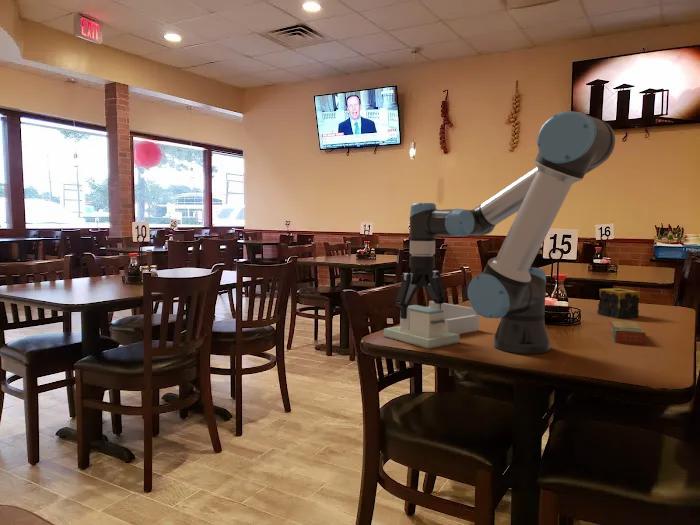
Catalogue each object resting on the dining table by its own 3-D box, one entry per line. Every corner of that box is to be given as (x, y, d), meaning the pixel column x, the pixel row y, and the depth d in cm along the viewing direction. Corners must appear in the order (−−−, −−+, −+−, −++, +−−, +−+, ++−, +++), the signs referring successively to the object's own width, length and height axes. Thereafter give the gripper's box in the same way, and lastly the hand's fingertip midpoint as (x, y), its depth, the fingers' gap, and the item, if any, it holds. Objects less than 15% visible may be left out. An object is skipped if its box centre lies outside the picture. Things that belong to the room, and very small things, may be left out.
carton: (636, 335, 167) (637, 321, 167) (646, 346, 152) (647, 332, 152) (607, 332, 170) (608, 319, 170) (614, 343, 155) (615, 329, 154)
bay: (478, 330, 171) (479, 309, 170) (447, 336, 162) (447, 313, 161) (431, 320, 188) (431, 300, 187) (400, 324, 179) (400, 304, 178)
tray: (459, 342, 153) (459, 334, 153) (428, 348, 146) (428, 340, 145) (413, 331, 168) (413, 323, 168) (383, 336, 161) (383, 328, 160)
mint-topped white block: (445, 341, 153) (446, 310, 152) (431, 343, 149) (432, 312, 149) (414, 333, 163) (414, 304, 163) (400, 335, 160) (400, 306, 159)
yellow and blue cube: (597, 314, 202) (598, 288, 202) (617, 313, 206) (619, 288, 205) (617, 319, 193) (619, 292, 192) (639, 317, 196) (640, 291, 195)
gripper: (440, 253, 165) (439, 320, 167) (383, 255, 151) (382, 329, 152) (458, 254, 159) (457, 324, 161) (401, 257, 145) (400, 334, 146)
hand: (420, 327), depth 157 cm, fingers open, 12 cm apart
